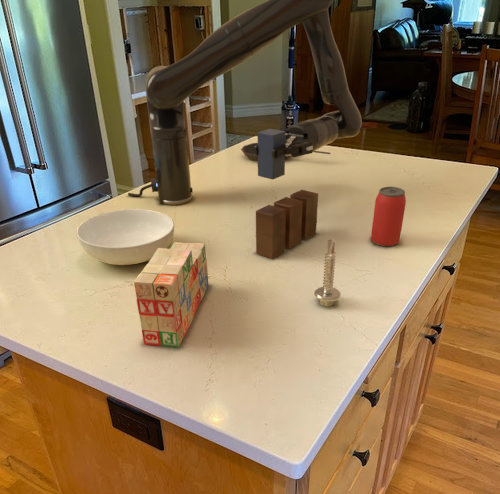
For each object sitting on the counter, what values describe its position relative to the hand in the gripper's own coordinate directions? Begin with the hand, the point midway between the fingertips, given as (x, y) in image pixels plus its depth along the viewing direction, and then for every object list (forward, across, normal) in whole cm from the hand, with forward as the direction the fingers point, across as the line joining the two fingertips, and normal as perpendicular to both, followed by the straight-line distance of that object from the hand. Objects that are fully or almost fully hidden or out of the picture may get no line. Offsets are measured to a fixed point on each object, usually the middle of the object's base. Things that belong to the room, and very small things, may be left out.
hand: (264, 152), depth 118 cm
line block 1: (+11, +11, +18) cm, 24 cm away
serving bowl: (+31, -13, +18) cm, 39 cm away
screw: (+22, +32, +18) cm, 43 cm away
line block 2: (+5, +11, +18) cm, 21 cm away
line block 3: (-1, +11, +18) cm, 21 cm away
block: (-3, 0, +6) cm, 7 cm away
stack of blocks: (+42, +13, +18) cm, 47 cm away
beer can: (-10, +28, +18) cm, 35 cm away
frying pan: (-49, -30, +18) cm, 61 cm away
